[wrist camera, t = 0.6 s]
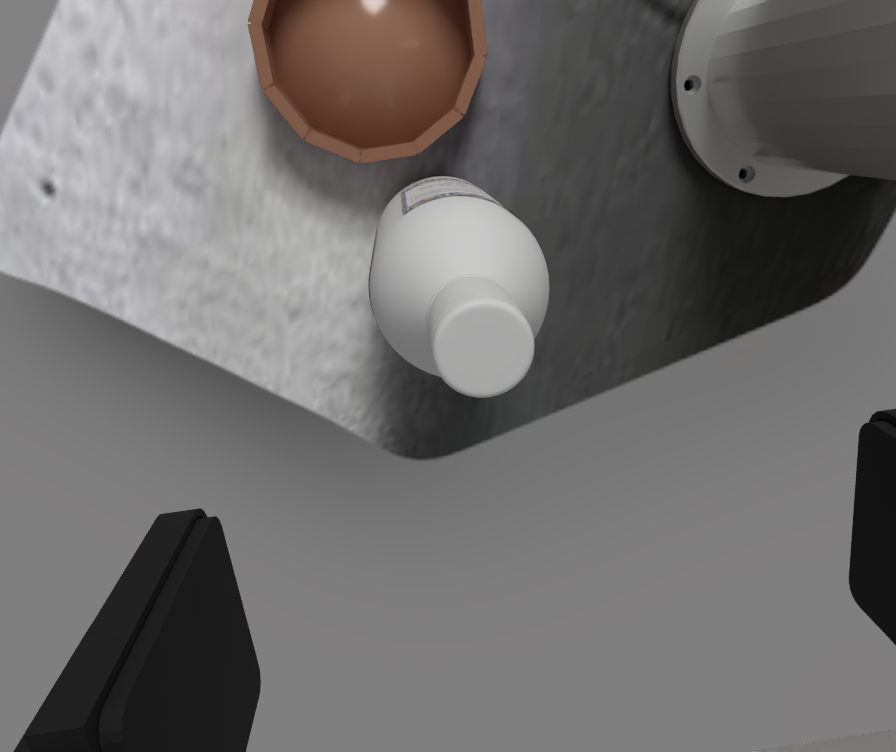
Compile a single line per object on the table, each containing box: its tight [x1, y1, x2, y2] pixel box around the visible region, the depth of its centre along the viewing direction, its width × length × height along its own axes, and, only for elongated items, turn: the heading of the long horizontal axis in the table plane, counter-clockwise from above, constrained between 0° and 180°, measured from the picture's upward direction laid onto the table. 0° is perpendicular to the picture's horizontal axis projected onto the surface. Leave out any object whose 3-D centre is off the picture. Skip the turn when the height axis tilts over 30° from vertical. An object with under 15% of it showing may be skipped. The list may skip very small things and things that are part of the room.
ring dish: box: [248, 0, 487, 163], centre depth 35 cm, size 11×11×3 cm
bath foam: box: [369, 176, 549, 398], centre depth 30 cm, size 7×7×20 cm
